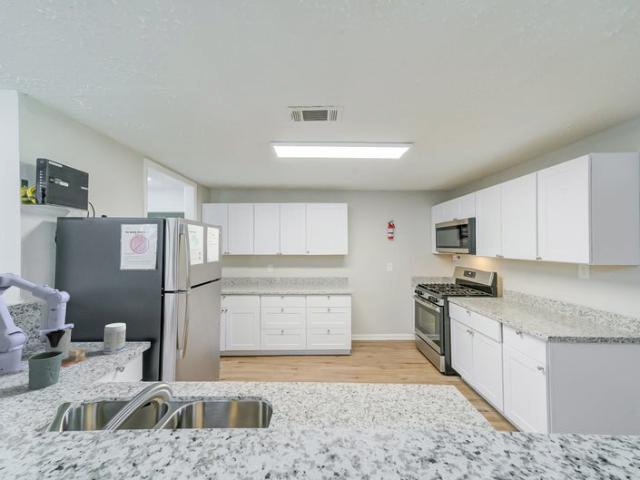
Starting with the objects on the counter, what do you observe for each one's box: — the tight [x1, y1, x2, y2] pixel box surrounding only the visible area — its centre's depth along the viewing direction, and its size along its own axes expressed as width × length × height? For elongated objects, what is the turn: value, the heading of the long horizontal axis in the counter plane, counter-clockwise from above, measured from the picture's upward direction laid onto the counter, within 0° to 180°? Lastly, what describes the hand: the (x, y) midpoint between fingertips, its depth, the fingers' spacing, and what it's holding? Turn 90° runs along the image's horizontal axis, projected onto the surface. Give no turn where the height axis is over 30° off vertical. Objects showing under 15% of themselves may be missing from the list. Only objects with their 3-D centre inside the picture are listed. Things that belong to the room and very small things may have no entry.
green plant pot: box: [27, 351, 64, 391], centre depth 111 cm, size 10×10×12 cm
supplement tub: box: [102, 322, 127, 355], centre depth 150 cm, size 10×10×15 cm
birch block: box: [67, 347, 86, 361], centre depth 138 cm, size 4×4×4 cm
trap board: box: [61, 356, 90, 368], centre depth 134 cm, size 12×11×1 cm
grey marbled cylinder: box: [44, 328, 73, 356], centre depth 144 cm, size 10×10×12 cm
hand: (54, 347), depth 128 cm, fingers closed
